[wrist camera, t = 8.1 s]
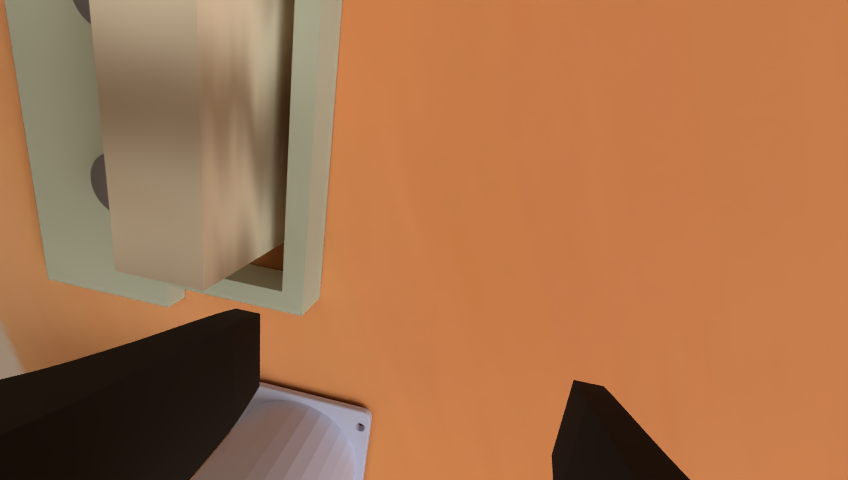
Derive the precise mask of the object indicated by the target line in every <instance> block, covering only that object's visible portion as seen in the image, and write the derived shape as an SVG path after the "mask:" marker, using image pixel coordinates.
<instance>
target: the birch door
mask: <svg viewBox="0 0 848 480" xmlns="http://www.w3.org/2000/svg"><path fill="white" fill-rule="evenodd" d="M89 7H90V17H91V27H92V37H93V47H94V57H95V67H96V78H97V88H98V98H99V108H100V118H101V128H102V139H103V149H104V159H105V169H106V179H107V189H108V200H109V210H110V220H111V230H112V240H113V250H114V261H115V271H118V272H123V273H127V274H131V275H136V276H140V277H145V278H149V279H153V280H158V281H162V282H166V283H171V284H175V285H180V286H184V287H188V288H193V289H197V290H202V291H204V290H206V289H208V288H209V287H211V286H213V285H214V284H216V283H218V282H219V281H221V280H223V279H224V278H226V277H227V276H229V275H231V274H232V273H234V272H236V271H237V270H239V269H241V268H242V267H244V266H246V265H247V264H249V263H251V262H252V261H254V260H256V259H257V258H259V257H261V256H262V255H264V254H266V253H267V252H269V251H271V250H272V249H274V248H276V247H277V246H279V245H280V244H282V243H284V238H285V215H286V192H287V169H288V146H289V123H290V99H291V76H292V53H293V30H294V7H295V0H89Z"/></svg>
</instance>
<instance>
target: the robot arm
mask: <svg viewBox="0 0 848 480" xmlns="http://www.w3.org/2000/svg"><path fill="white" fill-rule="evenodd" d="M371 421H372V414H371V412H370V411H369V410H368V409H366V408H363V407H359V406H355V405H351V404H347V403H343V402H339V401H335V400H331V399H327V398H323V397H319V396H315V395H311V394H307V393H303V392H299V391H295V390H291V389H287V388H283V387H279V386H275V385H271V384H267V383H263V382H260V314H259V313H254V312H249V311H245V310H240V309H233V310H229V311H225V312H221V313H218V314H215V315H212V316H208V317H205V318H202V319H199V320H196V321H193V322H191V323H188V324H185V325H182V326H179V327H176V328H173V329H170V330H167V331H164V332H161V333H158V334H155V335H152V336H150V337H147V338H144V339H141V340H138V341H135V342H132V343H128V344H125V345H122V346H119V347H116V348H112V349H109V350H106V351H103V352H99V353H96V354H93V355H90V356H87V357H83V358H80V359H77V360H74V361H70V362H67V363H63V364H60V365H56V366H52V367H49V368H45V369H41V370H37V371H33V372H29V373H25V374H21V375H17V376H13V377H9V378H5V379H1V380H0V480H190V479H191V477H192V476H193V475H194V474H195V473H196V472H197V470H198V469H199V468H200V467H201V466H202V464H203V463H204V462H205V461H206V460H207V458H208V457H209V456H210V455H211V454H212V452H213V451H214V450H215V449H216V448H217V446H218V445H219V444H220V443H221V442H222V440H223V439H224V438H225V437H226V435H227V434H228V433H229V432H230V431H231V432H230V434H229V435H228V436H227V437H226V438H225V440H224V441H223V442H222V443H221V444H220V446H219V447H218V448H217V449H216V450H215V452H214V453H213V454H212V455H211V456H210V458H209V459H208V460H207V461H206V462H205V464H204V465H203V466H202V467H201V468H200V470H199V471H198V472H197V473H196V474H195V476H194V477H193V478H192V479H191V480H364V472H365V465H366V458H367V450H368V443H369V435H370V428H371ZM358 423H361V424H363V425H364V426H361V425H359V424H358ZM552 468H553V480H690V479H689V478H688V477H687V476H686V475H685V474H684V473H683V472H682V471H681V470H680V469H679V468H678V467H677V466H676V465H675V464H674V462H673V461H672V460H671V459H670V458H669V457H668V456H667V455H666V454H665V453H664V452H663V451H662V450H661V448H660V447H659V446H658V445H657V444H656V443H655V442H654V441H653V440H652V439H651V438H650V436H649V435H648V434H647V433H646V432H645V431H644V430H643V429H642V428H641V426H640V425H639V424H638V423H637V422H636V421H635V420H634V419H633V418H632V416H631V415H630V414H629V413H628V412H627V411H626V410H625V409H624V408H623V407H622V405H621V404H620V403H619V402H618V401H617V400H616V399H615V398H614V397H613V396H612V395H611V393H610V392H609V391H608V390H607V389H606V388H605V387H604V386H600V385H595V384H590V383H585V382H581V381H576V380H574V381H573V384H572V388H571V391H570V395H569V398H568V401H567V405H566V408H565V412H564V415H563V418H562V422H561V425H560V429H559V432H558V435H557V439H556V442H555V446H554V449H553V452H552Z"/></svg>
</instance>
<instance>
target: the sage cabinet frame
mask: <svg viewBox="0 0 848 480" xmlns="http://www.w3.org/2000/svg"><path fill="white" fill-rule="evenodd" d="M4 1H5V7H6V14H7V20H8V26H9V33H10V39H11V45H12V52H13V58H14V65H15V71H16V77H17V84H18V90H19V97H20V103H21V109H22V116H23V122H24V129H25V135H26V141H27V148H28V154H29V160H30V167H31V173H32V180H33V186H34V192H35V199H36V205H37V212H38V218H39V224H40V231H41V237H42V243H43V250H44V256H45V263H46V269H47V275H48V279H49V280H53V281H58V282H62V283H66V284H71V285H75V286H79V287H83V288H88V289H92V290H96V291H100V292H105V293H109V294H113V295H118V296H122V297H126V298H130V299H135V300H139V301H143V302H147V303H152V304H156V305H160V306H165V307H169V306H171V305H173V304H175V303H176V302H178V301H180V300H181V299H183V298H185V290H190V291H194V292H199V293H203V294H207V295H212V296H216V297H221V298H225V299H229V300H234V301H238V302H243V303H247V304H251V305H256V306H260V307H265V308H269V309H273V310H278V311H282V312H287V313H291V314H295V315H300V316H302V315H303V314H304V313H305V312H306V311H307V310H308V309H309V308H310V307H311V306H312V305H313V304H314V303H315V302H316V301H317V300H318V299H319V298H320V288H321V275H322V262H323V249H324V235H325V222H326V209H327V196H328V183H329V170H330V157H331V144H332V130H333V117H334V104H335V91H336V78H337V65H338V52H339V38H340V25H341V12H342V0H295V7H294V30H293V53H292V76H291V99H290V123H289V146H288V169H287V192H286V215H285V238H284V261H283V271H280V270H276V269H271V268H267V267H262V266H257V265H253V264H247V265H246V266H244V267H242V268H241V269H239V270H237V271H236V272H234V273H232V274H231V275H229V276H227V277H226V278H224V279H223V280H221V281H219V282H218V283H216V284H214V285H213V286H211V287H209V288H208V289H206V290H204V291H202V290H197V289H193V288H188V287H184V286H180V285H175V284H171V283H166V282H162V281H158V280H153V279H149V278H145V277H140V276H136V275H131V274H127V273H123V272H118V271H115V261H114V250H113V240H112V230H111V220H110V210H109V200H108V189H107V179H106V169H105V159H104V149H103V139H102V128H101V118H100V108H99V98H98V88H97V78H96V67H95V57H94V47H93V37H92V27H91V17H90V7H89V0H4Z"/></svg>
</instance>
